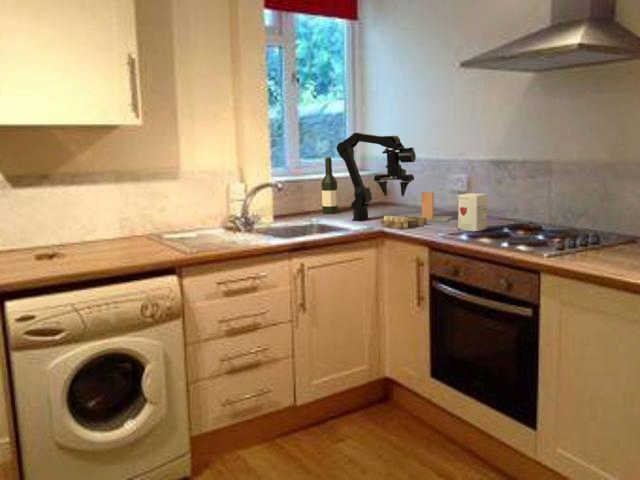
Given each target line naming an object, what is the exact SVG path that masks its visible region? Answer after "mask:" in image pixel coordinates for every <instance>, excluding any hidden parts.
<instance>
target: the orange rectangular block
mask: <svg viewBox="0 0 640 480" xmlns="http://www.w3.org/2000/svg"><path fill="white" fill-rule="evenodd" d="M421 216H422V218H426V219H433V218H434V216H435V192H433V191H432V192H431V191H427V192H426V191H425V192H421Z"/></svg>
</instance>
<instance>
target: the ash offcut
mask: <svg viewBox="0 0 640 480" xmlns="http://www.w3.org/2000/svg"><path fill="white" fill-rule="evenodd" d="M395 217H398V216H396V215H384V216H383V220H388V221H395Z"/></svg>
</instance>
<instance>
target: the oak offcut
mask: <svg viewBox="0 0 640 480" xmlns="http://www.w3.org/2000/svg"><path fill="white" fill-rule="evenodd" d="M395 221H396V222H403V229H402V230H407V229H409V228H408V218H406V217H405V216H397V217H395ZM406 228H407V229H406Z"/></svg>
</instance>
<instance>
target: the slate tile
mask: <svg viewBox="0 0 640 480" xmlns="http://www.w3.org/2000/svg"><path fill="white" fill-rule="evenodd" d="M412 216H413V217H422V215H412ZM452 220H453V216H452V215H451V216H450V215H449V216H448V215H444V216H443V215H434V218H433V219H426V223H431V222H432V223H447V222H448V221H452Z"/></svg>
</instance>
